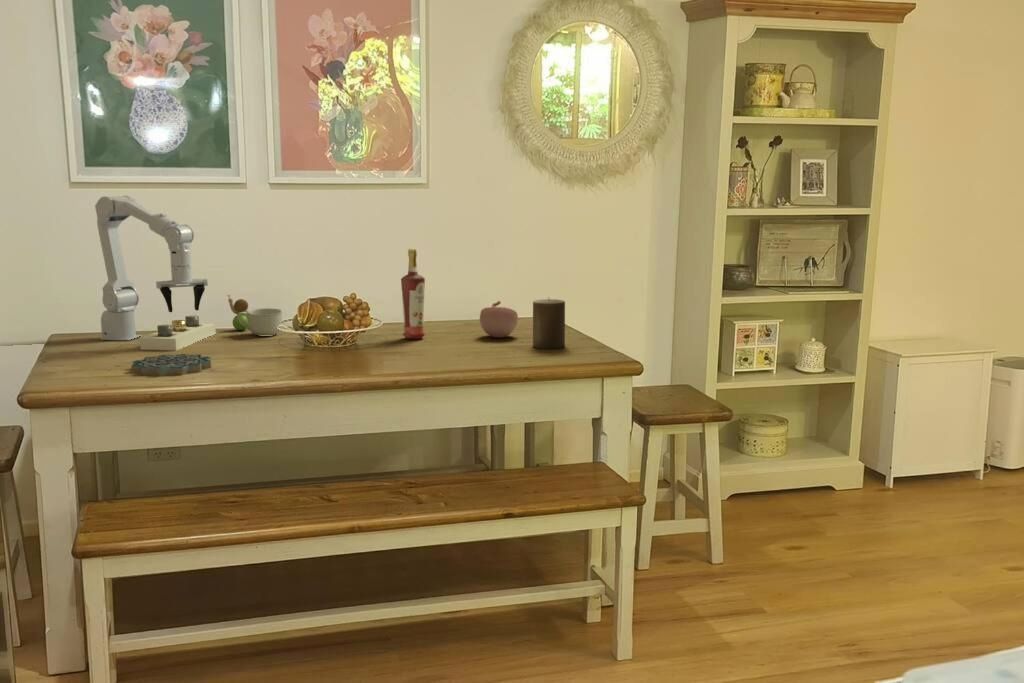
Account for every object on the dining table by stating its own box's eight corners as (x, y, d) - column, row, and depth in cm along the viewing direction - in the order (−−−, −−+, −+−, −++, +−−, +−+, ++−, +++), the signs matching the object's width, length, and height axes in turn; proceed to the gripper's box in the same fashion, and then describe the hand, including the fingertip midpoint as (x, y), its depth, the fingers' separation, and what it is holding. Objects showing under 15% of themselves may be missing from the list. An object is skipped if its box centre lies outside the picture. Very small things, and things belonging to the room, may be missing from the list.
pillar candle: (562, 349, 283) (562, 299, 280) (529, 348, 285) (529, 298, 282) (567, 343, 292) (567, 295, 290) (535, 342, 294) (535, 294, 292)
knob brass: (169, 331, 293) (169, 321, 292) (176, 329, 297) (175, 319, 296) (182, 331, 292) (181, 321, 292) (188, 329, 296) (187, 319, 296)
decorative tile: (226, 368, 258) (225, 360, 257) (156, 380, 243) (155, 371, 242) (187, 359, 271) (186, 350, 270) (118, 369, 256) (118, 361, 256)
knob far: (183, 326, 301) (182, 317, 301) (189, 324, 305) (188, 315, 305) (195, 327, 301) (195, 317, 300) (201, 325, 305) (200, 315, 304)
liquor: (414, 341, 296) (412, 250, 291) (397, 339, 300) (395, 249, 295) (430, 338, 302) (429, 249, 296) (413, 335, 306) (411, 247, 301)
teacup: (287, 332, 312) (286, 308, 310) (276, 338, 301) (275, 313, 300) (246, 331, 313) (245, 307, 312) (233, 337, 303) (232, 312, 301)
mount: (140, 349, 283) (139, 337, 282) (183, 333, 309) (182, 323, 308) (176, 350, 281) (175, 338, 281) (215, 334, 308) (215, 323, 307)
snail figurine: (228, 330, 316) (226, 293, 314) (248, 328, 319) (246, 292, 317) (231, 332, 311) (229, 295, 309) (251, 331, 314) (249, 294, 312)
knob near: (155, 336, 284) (154, 326, 283) (161, 334, 288) (161, 324, 287) (168, 336, 283) (167, 326, 283) (174, 334, 287) (173, 324, 287)
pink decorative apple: (519, 334, 309) (519, 299, 307) (515, 341, 297) (516, 304, 295) (482, 333, 310) (482, 298, 308) (477, 340, 298) (477, 303, 296)
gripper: (158, 268, 280) (161, 314, 282) (209, 265, 287) (211, 310, 290) (153, 266, 286) (156, 311, 288) (203, 263, 293) (205, 307, 296)
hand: (183, 310), depth 289 cm, fingers open, 7 cm apart
